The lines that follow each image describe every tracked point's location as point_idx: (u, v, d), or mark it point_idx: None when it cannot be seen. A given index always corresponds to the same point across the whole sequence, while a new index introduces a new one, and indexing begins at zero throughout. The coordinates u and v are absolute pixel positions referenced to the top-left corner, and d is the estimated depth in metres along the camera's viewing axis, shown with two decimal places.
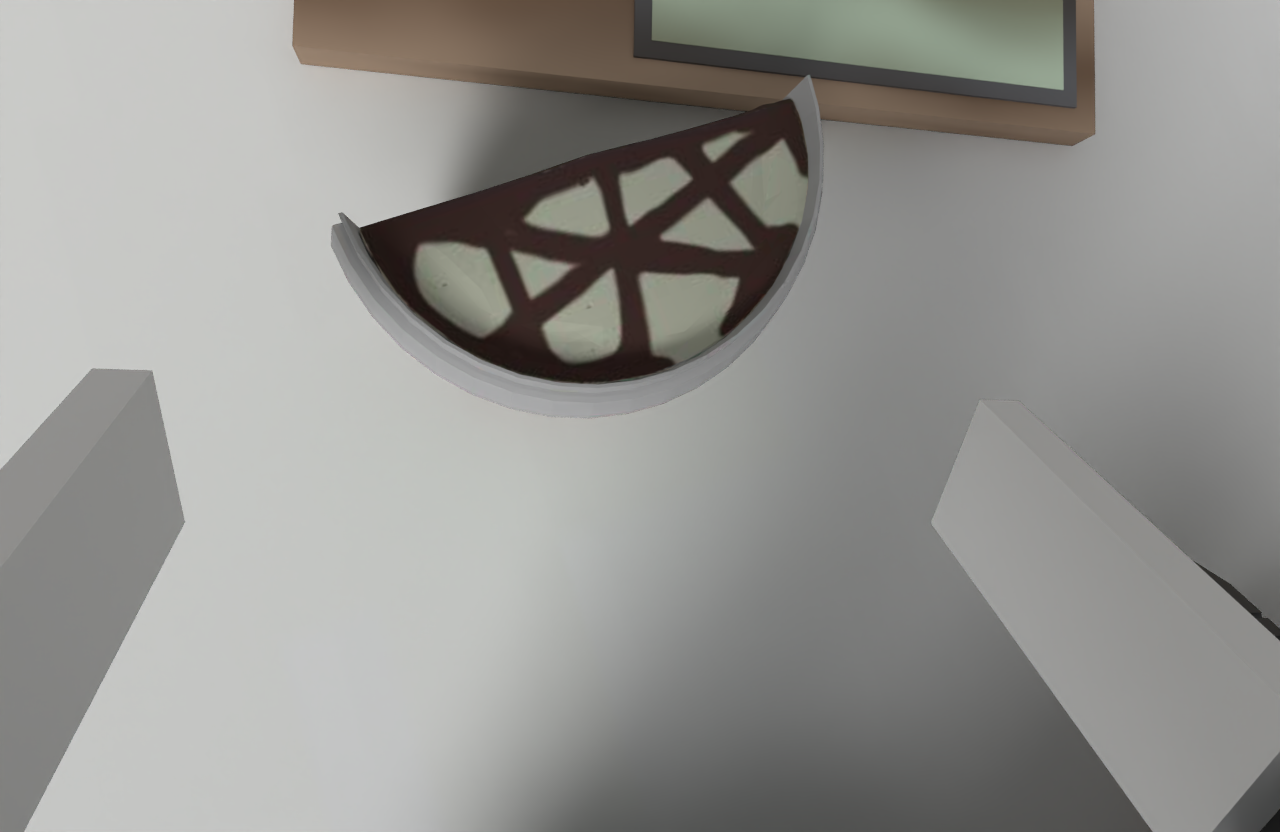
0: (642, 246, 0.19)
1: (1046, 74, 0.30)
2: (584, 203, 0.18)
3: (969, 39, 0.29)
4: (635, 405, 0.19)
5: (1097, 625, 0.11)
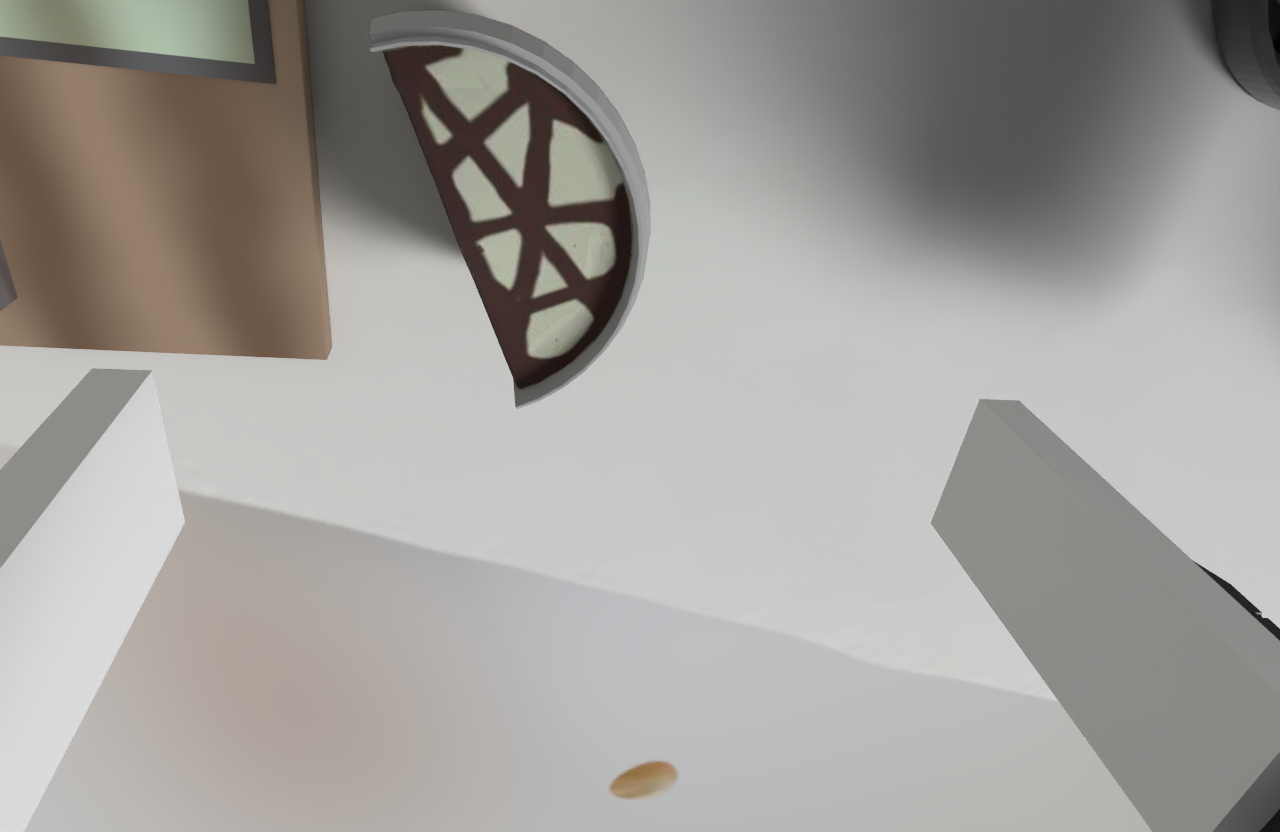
0: (527, 202, 0.23)
1: None
2: (496, 248, 0.24)
3: None
4: (648, 207, 0.25)
5: (1098, 625, 0.11)
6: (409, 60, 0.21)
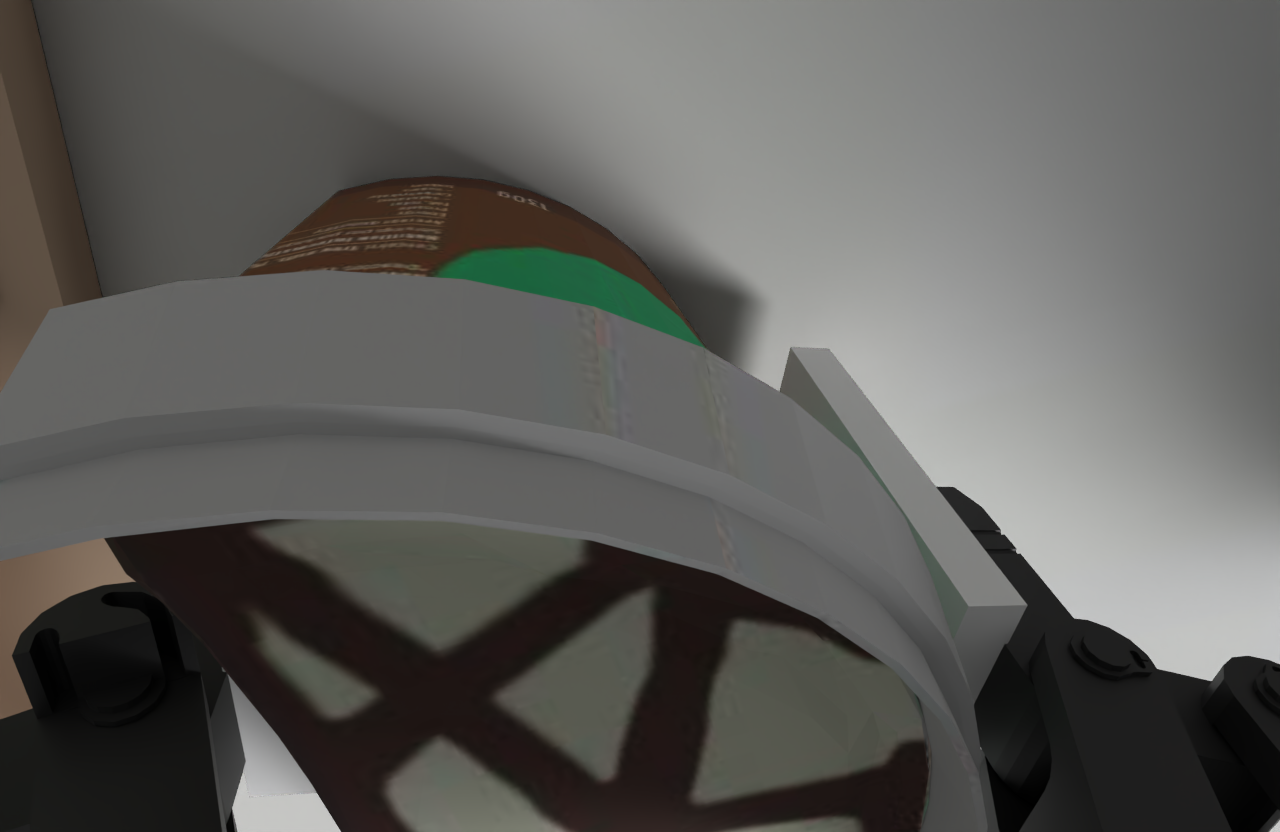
0: (627, 809, 0.07)
1: None
2: None
3: None
4: None
5: None
6: None
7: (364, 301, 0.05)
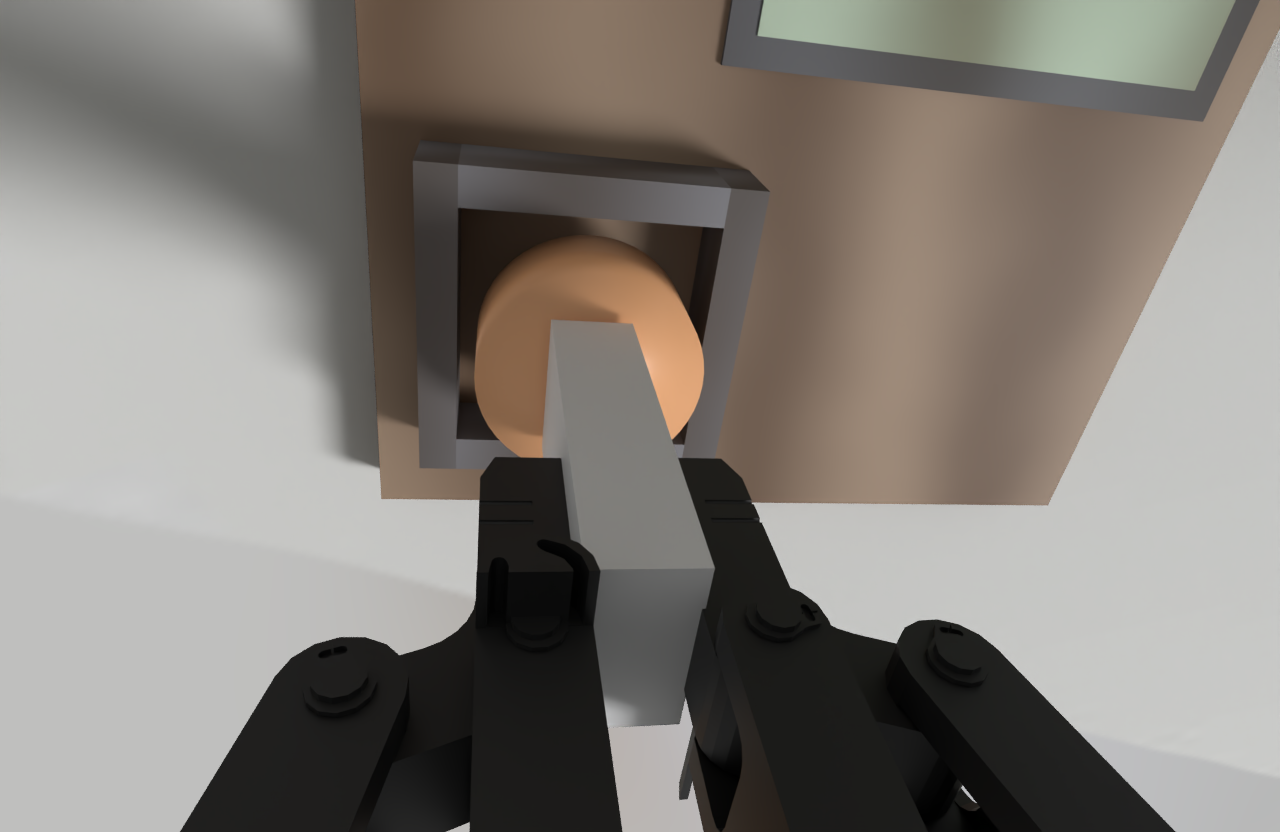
0: None
1: None
2: None
3: None
4: None
5: None
6: None
7: None
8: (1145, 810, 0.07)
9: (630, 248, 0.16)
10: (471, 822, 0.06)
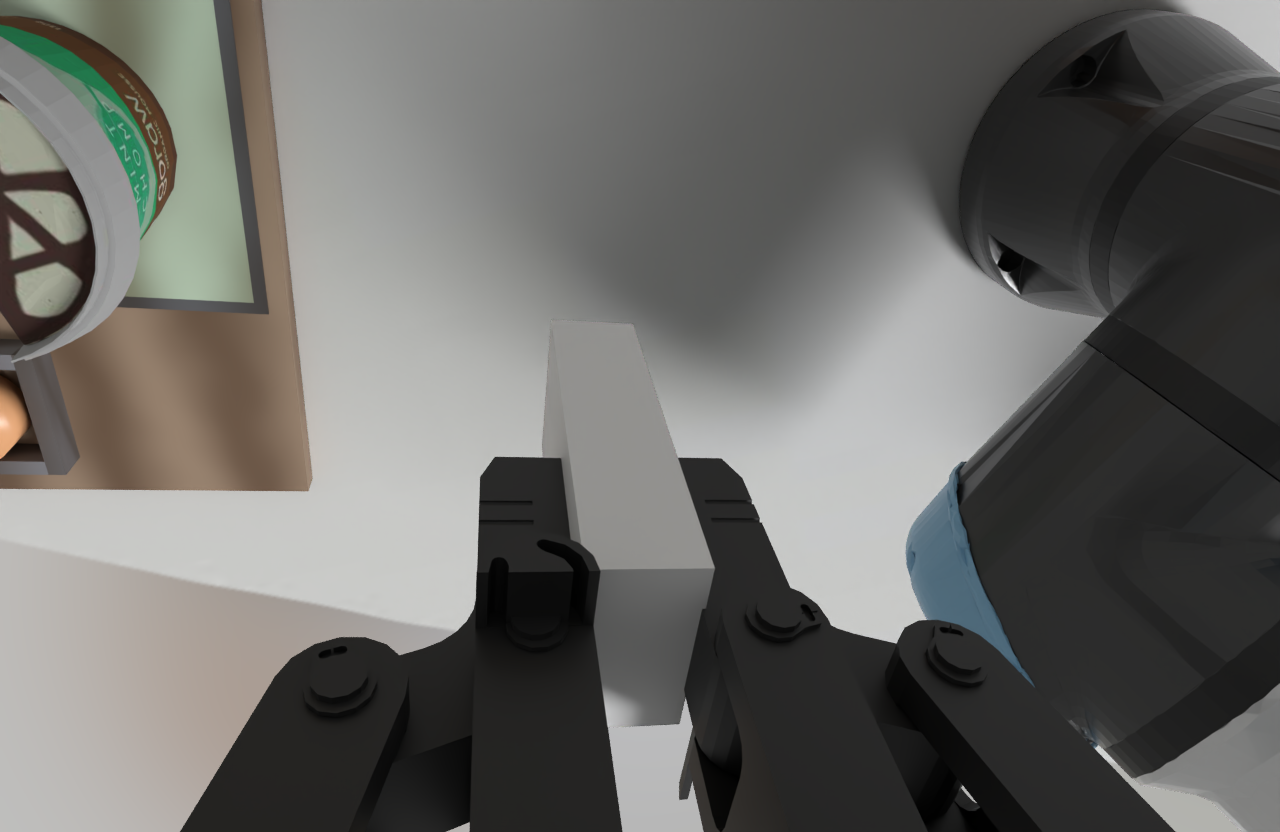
0: None
1: None
2: None
3: (177, 26, 0.32)
4: (114, 179, 0.27)
5: None
6: None
7: None
8: (1145, 811, 0.07)
9: None
10: (471, 822, 0.06)
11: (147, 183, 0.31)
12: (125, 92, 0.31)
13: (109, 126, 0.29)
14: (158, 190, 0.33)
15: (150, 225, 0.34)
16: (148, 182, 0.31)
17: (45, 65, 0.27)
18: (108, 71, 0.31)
